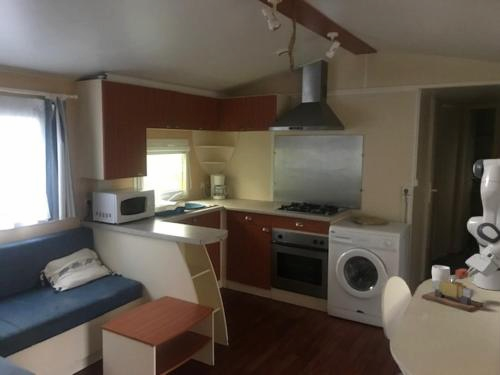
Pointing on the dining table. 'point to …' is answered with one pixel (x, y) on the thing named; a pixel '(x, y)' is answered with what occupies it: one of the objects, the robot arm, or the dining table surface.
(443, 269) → the cup
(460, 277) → the lever
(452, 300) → the board
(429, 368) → the dining table surface
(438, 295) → the valve
